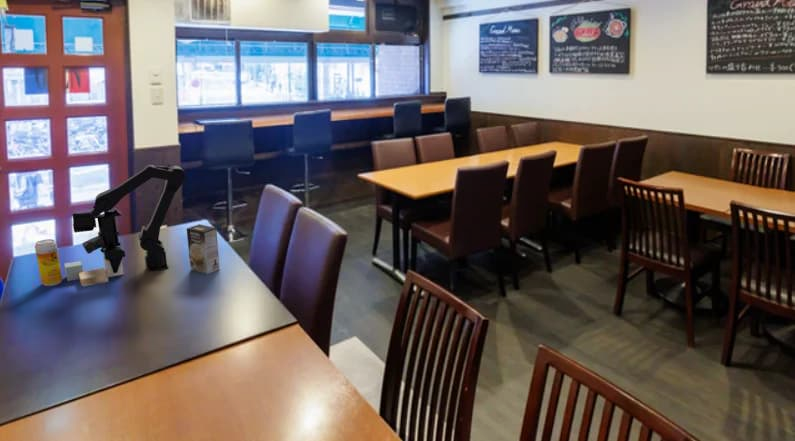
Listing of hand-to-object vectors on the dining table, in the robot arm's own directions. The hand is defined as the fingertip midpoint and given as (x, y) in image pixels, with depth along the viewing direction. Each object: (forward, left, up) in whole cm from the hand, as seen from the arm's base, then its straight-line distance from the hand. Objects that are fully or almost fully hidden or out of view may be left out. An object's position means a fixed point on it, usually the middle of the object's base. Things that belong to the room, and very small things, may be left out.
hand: (114, 270), depth 193 cm
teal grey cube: (+12, -4, -1) cm, 13 cm away
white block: (0, 0, -1) cm, 1 cm away
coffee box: (-28, +14, -2) cm, 31 cm away
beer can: (+19, -2, -1) cm, 19 cm away
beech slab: (+7, +3, -2) cm, 8 cm away
